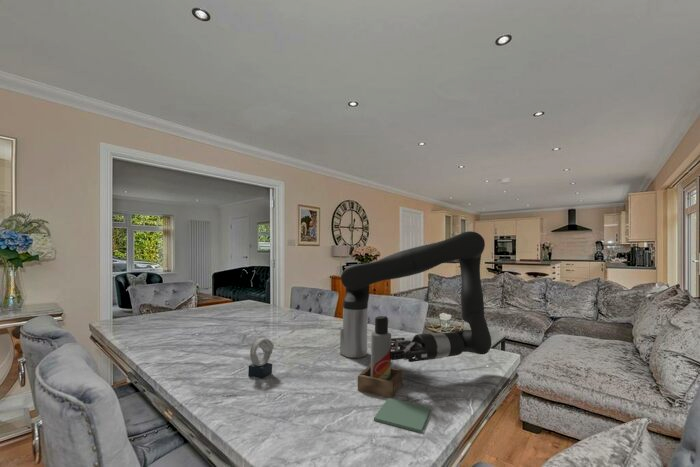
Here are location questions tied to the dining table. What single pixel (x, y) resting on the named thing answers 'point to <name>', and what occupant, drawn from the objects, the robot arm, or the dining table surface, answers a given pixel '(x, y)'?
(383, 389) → the walnut holder
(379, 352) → the lotion bottle
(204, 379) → the dining table surface
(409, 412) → the sage mat
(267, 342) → the watch
